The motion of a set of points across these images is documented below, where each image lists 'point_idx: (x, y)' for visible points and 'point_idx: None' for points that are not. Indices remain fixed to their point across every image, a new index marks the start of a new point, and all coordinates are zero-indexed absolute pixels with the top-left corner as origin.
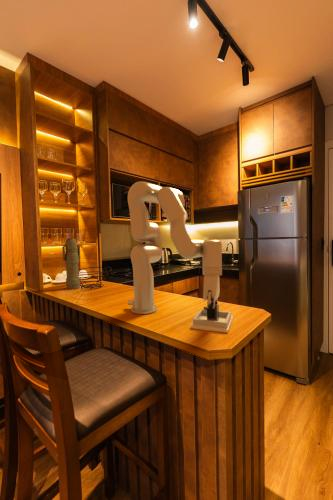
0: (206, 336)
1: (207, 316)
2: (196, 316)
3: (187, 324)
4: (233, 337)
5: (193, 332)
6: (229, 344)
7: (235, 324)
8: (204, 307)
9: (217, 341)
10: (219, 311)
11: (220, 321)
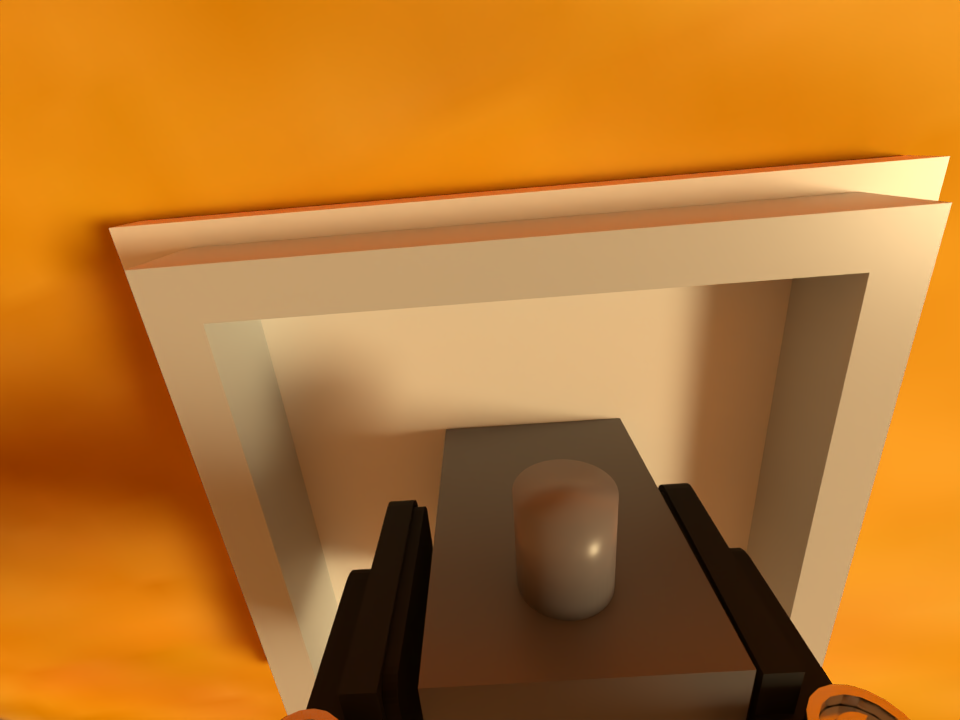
0: (46, 508)
1: (388, 517)
2: (339, 288)
3: (262, 91)
4: (216, 710)
5: (27, 325)
6: (48, 706)
7: None
8: (534, 539)
9: (22, 622)
10: (811, 597)
11: None
